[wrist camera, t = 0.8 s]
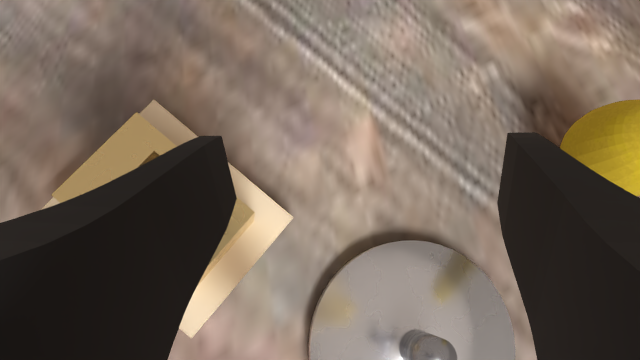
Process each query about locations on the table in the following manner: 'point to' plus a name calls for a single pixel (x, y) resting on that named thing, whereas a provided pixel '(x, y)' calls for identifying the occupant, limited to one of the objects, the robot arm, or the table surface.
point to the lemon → (609, 143)
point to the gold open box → (130, 153)
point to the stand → (244, 250)
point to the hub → (410, 308)
